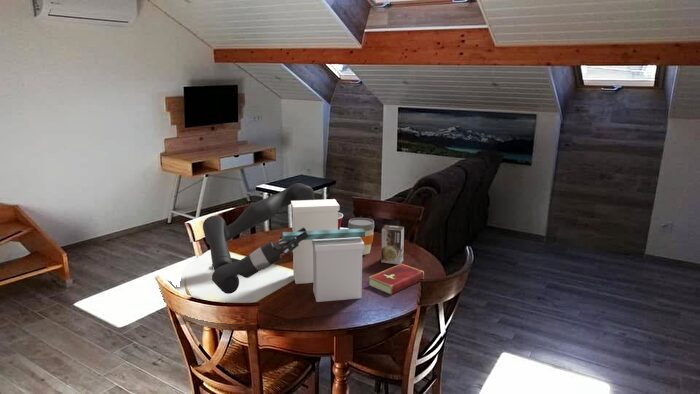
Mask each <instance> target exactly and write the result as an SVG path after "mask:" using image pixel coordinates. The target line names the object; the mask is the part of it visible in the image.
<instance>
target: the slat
mask: <svg viewBox="0 0 700 394" xmlns="http://www.w3.org/2000/svg"><path fill="white" fill-rule="evenodd" d="M303 232H306V233H307V234H308V237H307V238H306V239H304V240H314V239H334V238H353V237H365V231H364V229H363V228H362V229H349V228H346V229H345V228H343V229H341V228H340V230H320V231H300V232H292V231H282V236H283V241H287V240H288V239H293V238H294V237H297V236H298V235H300V234H301V233H303Z"/></svg>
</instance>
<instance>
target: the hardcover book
mask: <svg viewBox="0 0 700 394" xmlns="http://www.w3.org/2000/svg"><path fill="white" fill-rule="evenodd" d="M367 278H368V279H369V286H370V287H373V288H375V289H378V290H379V291H382V292H385V293H387V294H389V295H390V296H391V295H394V294H396V293H398V292H399V291H402V290H404V289H406V288H409V287H410V286H412V285H415V284H417V283H418V282H420V280H421V279H423V280H424V278H425V272H424V270H421V269H418V268H416V267H412V266H409V265H407V264H404V263H401V264H396V265H394V266H392V267H389V268H387V269H385V270H383V271H380V272H376V273H375V274H372V275H370V276H369V277H367ZM421 281H422V280H421Z"/></svg>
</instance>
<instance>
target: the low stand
mask: <svg viewBox="0 0 700 394" xmlns="http://www.w3.org/2000/svg"><path fill="white" fill-rule="evenodd" d="M312 245H313V284H312V285H313V287H312V289H313V291H312V292H313V295H314V297H315V302H316V303H320V302H322V303H323V302H333V301H334V302H335V301H346V300H354V299H362V293H363V291H362V289H363V288H362V287H363V286H362V285H363V255H362V250H363V249H364V242H363V241H362V239H361V238H360V237H353V238H334V239H314V240H312Z"/></svg>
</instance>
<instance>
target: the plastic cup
mask: <svg viewBox="0 0 700 394" xmlns="http://www.w3.org/2000/svg"><path fill="white" fill-rule="evenodd" d="M343 217H344V214H343V213H342V212H339V211H338V230H341V225H342V220H343Z"/></svg>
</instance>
